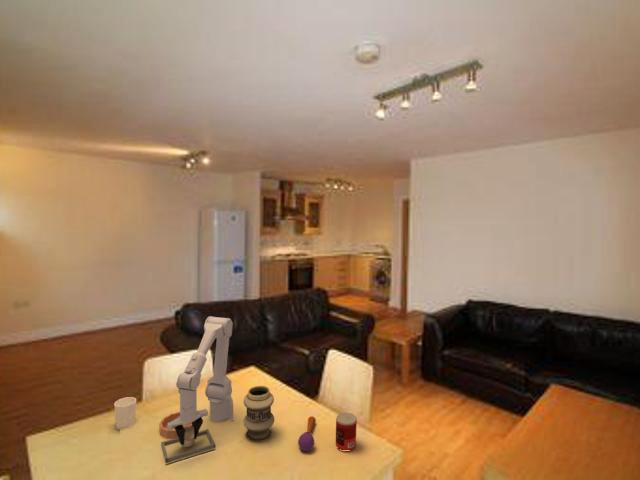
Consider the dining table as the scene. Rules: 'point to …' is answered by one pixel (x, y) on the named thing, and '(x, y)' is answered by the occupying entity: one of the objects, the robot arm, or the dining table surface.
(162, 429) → the orange shallow faceted dish
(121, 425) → the white cup
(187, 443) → the taupe rounded cylinder
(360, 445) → the dining table surface
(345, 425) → the canned food
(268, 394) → the apothecary jar
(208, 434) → the charcoal tray
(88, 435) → the dining table surface
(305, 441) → the purple maraca
